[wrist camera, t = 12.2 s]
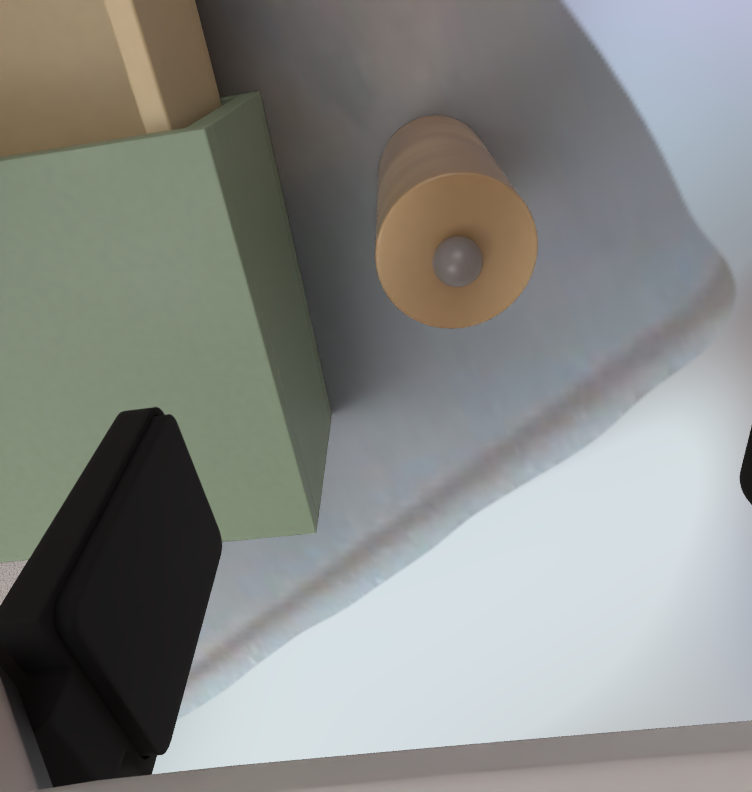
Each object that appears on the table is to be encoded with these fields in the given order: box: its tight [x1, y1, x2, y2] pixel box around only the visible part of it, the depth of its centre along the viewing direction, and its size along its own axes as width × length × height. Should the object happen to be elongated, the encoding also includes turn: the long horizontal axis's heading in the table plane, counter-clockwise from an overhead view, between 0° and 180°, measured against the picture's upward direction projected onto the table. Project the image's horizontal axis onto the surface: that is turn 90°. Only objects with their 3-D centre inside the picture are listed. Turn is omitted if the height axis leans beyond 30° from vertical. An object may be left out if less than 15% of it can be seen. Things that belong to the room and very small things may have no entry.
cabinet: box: [0, 91, 332, 563], centre depth 25 cm, size 16×14×9 cm
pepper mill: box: [375, 115, 538, 329], centre depth 21 cm, size 5×5×11 cm
